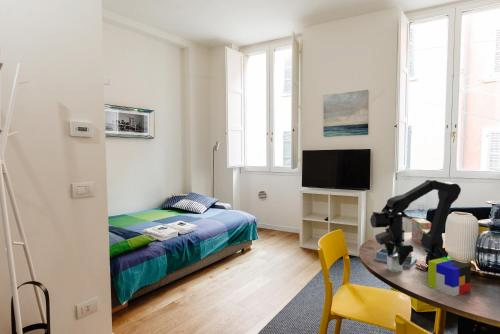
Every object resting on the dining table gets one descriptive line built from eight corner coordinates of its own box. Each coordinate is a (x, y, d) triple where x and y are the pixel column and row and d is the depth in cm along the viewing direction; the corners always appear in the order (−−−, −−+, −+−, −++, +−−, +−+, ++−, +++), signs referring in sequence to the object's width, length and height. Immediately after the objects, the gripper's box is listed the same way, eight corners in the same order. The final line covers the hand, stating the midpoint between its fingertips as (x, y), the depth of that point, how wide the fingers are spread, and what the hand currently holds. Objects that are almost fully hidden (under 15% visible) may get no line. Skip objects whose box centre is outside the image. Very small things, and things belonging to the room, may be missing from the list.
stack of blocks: (438, 250, 163) (439, 227, 162) (425, 249, 164) (426, 227, 164) (422, 238, 184) (423, 217, 184) (411, 237, 185) (411, 217, 185)
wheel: (411, 258, 146) (411, 253, 146) (411, 262, 141) (411, 257, 141) (397, 256, 149) (398, 251, 149) (397, 260, 144) (397, 255, 144)
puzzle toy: (453, 296, 114) (453, 270, 114) (427, 285, 123) (428, 260, 123) (470, 290, 118) (470, 265, 118) (444, 280, 127) (445, 256, 127)
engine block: (397, 268, 141) (397, 253, 140) (402, 271, 137) (402, 256, 136) (387, 268, 141) (387, 253, 140) (391, 272, 137) (391, 257, 136)
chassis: (416, 260, 149) (416, 252, 149) (410, 268, 141) (410, 259, 140) (382, 253, 159) (382, 246, 159) (374, 259, 151) (374, 251, 151)
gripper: (368, 222, 146) (368, 254, 147) (388, 233, 128) (387, 270, 129) (391, 221, 147) (391, 253, 148) (414, 232, 128) (413, 269, 129)
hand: (395, 261), depth 139 cm, fingers open, 9 cm apart
